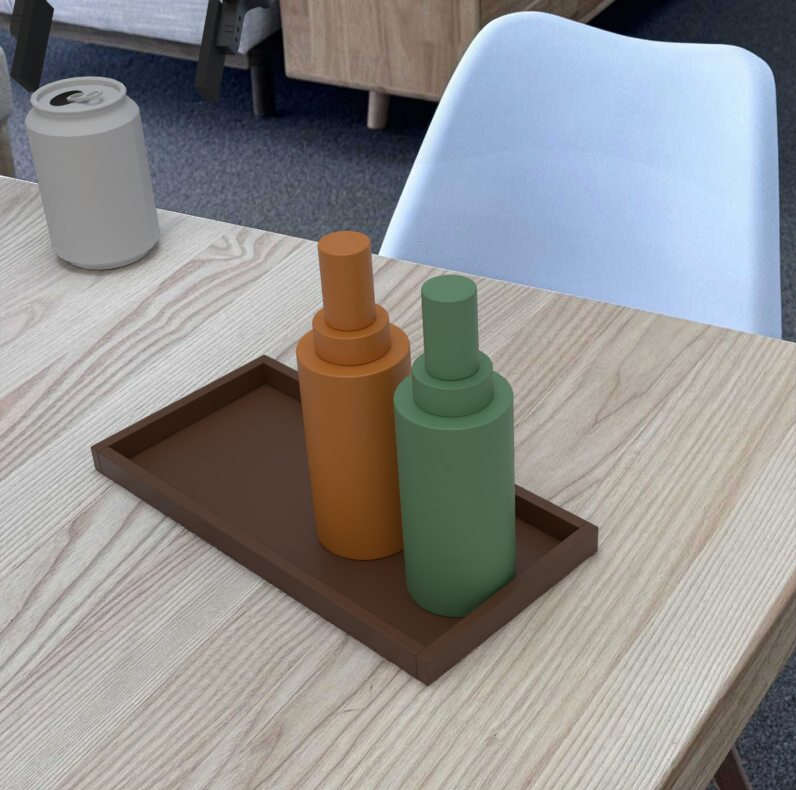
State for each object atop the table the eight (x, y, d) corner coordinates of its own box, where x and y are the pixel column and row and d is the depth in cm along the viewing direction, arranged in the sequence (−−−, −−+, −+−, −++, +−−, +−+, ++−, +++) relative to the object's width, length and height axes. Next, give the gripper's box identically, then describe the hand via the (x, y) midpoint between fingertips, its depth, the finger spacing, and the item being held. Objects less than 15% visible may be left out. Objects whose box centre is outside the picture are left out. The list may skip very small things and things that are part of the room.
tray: (97, 480, 77) (89, 446, 76) (268, 385, 85) (264, 353, 84) (428, 698, 63) (426, 661, 62) (597, 561, 71) (598, 526, 70)
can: (91, 220, 104) (60, 65, 97) (181, 234, 102) (156, 76, 95) (33, 267, 98) (-4, 104, 91) (127, 281, 96) (96, 117, 89)
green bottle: (383, 585, 69) (359, 291, 59) (458, 531, 72) (446, 245, 63) (464, 634, 66) (452, 333, 57) (538, 576, 69) (538, 283, 60)
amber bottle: (294, 530, 72) (258, 245, 63) (369, 482, 76) (346, 205, 66) (367, 575, 69) (341, 283, 60) (442, 522, 73) (428, 238, 63)
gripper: (-20, -218, 101) (-78, 57, 97) (313, -211, 96) (267, 76, 93) (30, -157, 108) (-23, 101, 104) (342, -148, 104) (299, 121, 100)
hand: (113, 90), depth 98 cm, fingers open, 13 cm apart
